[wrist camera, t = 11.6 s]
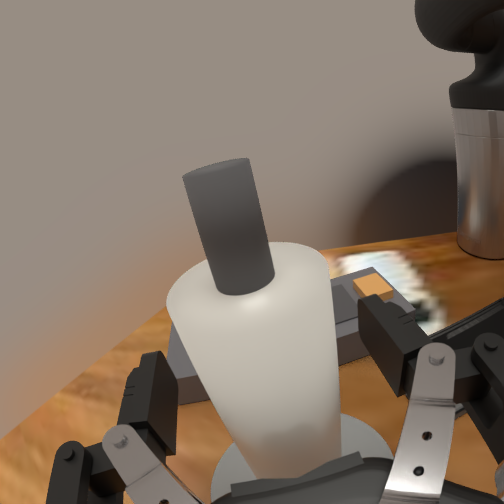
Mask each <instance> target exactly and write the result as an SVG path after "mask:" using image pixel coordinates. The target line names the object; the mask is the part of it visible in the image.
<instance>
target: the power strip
mask: <svg viewBox="0 0 504 504" xmlns="http://www.w3.org/2000/svg"><path fill="white" fill-rule="evenodd" d="M330 282H331V291H332V300H333V310H334V320H335V331H336V343H337V356H338V366H339V365H342V364H345V363H348V362H351V361H354V360H357V359H359V358H362V357H365V356H368V355H370V353H369V352H368V350H367V349H366V347H365V346H364V344H363V342H362V340H361V338H360V335H359V330H358V308H357V301H358V299H360V298H363V297H366V296H369V295H372V294H377V295H378V296H379V297H380V298H381V299H382V300H383V302H384V303H387V302H389V301H391V302H393V303H395V304H397V305H399V306H401V307H402V308H403V309H404V310H405V311H406V312H407V314H408V315H409V316H410V317H411V318H412V319H413V321H415V311H416V309H415V308H414V307H413V306H412V305H411V304H410V303H409V302H408V301H407V300H406V299H405V298H404V297H403V296H402V295H401V294H400V293H399V292H398V291H397V290H396V289H395V288H394V287H393V286H392V285H391V284H390V283H389V282H388V281H387V280H386V279H385V278H384V277H383V276H382V275H381V274H379V273H378V272H377V271H376V270H375V269H374V268H373V267H370V268H367V269H363V270H360V271H357V272H354V273H350V274H347V275H344V276H340V277H337V278H334V279H330ZM167 362H168V364H169V366H170V368H171V370H172V371H173V373H174V375H175V377H176V379H177V383H178V389H179V392H178V405H182V404H188V403H194V402H199V401H205V400H210V397H209V395H208V394H207V392H206V390H205V388H204V386H203V384H202V382H201V380H200V378H199V376H198V374H197V372H196V370H195V368H194V366H193V364H192V362H191V360H190V358H189V356H188V354H187V352H186V349H185V347H184V345H183V343H182V341H181V339H180V337H179V334H178V332H177V330H176V328H175V326H174V323H173V321H172V326H171V333H170V340H169V347H168V354H167Z"/></svg>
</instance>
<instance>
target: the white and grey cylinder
mask: <svg viewBox="0 0 504 504" xmlns="http://www.w3.org/2000/svg"><path fill="white" fill-rule="evenodd" d="M182 178H183V181H184V185H185V188H186V191H187V195H188V198H189V202H190V205H191V208H192V212H193V215H194V218H195V222H196V225H197V228H198V232H199V235H200V238H201V241H202V245H203V248H204V251H205V254H206V257H207V259H206V260H204V261H202V262H200V263H199V264H197V265H195V266H194V267H192V268H191V269H189V270H188V271H187V272H185V273H184V274H183V275H182V276H181V277H180V278H179V279H178V280H177V281H176V282H175V284H174V285H173V286H172V288H171V290H170V291H169V294H168V297H167V303H166V305H167V310H168V312H169V314H170V317H171V319H172V321H173V323H174V326H175V328H176V330H177V332H178V334H179V337H180V339H181V341H182V343H183V345H184V347H185V349H186V352H187V354H188V356H189V358H190V360H191V362H192V364H193V366H194V368H195V370H196V372H197V374H198V376H199V378H200V380H201V382H202V384H203V386H204V388H205V390H206V392H207V394H208V395H209V397H210V399H211V401H212V403H213V405H214V407H215V409H216V410H217V412H218V414H219V416H220V418H221V420H222V421H223V423H224V425H225V427H226V428H227V430H228V432H229V434H230V435H231V437H232V439H233V441H234V442H235V444H236V446H237V447H238V449H239V451H240V452H241V454H242V456H243V457H244V459H245V461H246V462H247V464H248V466H249V467H250V469H251V470H252V472H253V474H254V475H255V477H256V478H257V479H262V478H263V479H278V478H297V477H300V476H302V475H304V474H306V473H308V472H310V471H312V470H314V469H315V468H317V467H319V466H321V465H323V464H324V463H326V462H328V461H331V460H334V459H337V458H340V457H342V453H341V410H340V388H339V371H338V356H337V343H336V331H335V320H334V310H333V300H332V291H331V282H330V274H329V266H328V263H327V261H326V259H325V258H324V256H323V255H321V254H320V253H319V252H318V251H316V250H315V249H312V248H310V247H308V246H304V245H301V244H296V243H289V242H268V239H267V234H266V230H265V226H264V221H263V217H262V212H261V208H260V204H259V199H258V195H257V191H256V187H255V182H254V178H253V174H252V169H251V166H250V161H249V159H248V158H241V159H233V160H228V161H223V162H219V163H215V164H212V165H208V166H205V167H202V168H199V169H196V170H194V171H191V172H189V173H187V174H185V175H183V177H182Z"/></svg>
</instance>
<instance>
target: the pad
mask: <svg viewBox="0 0 504 504" xmlns="http://www.w3.org/2000/svg"><path fill="white" fill-rule="evenodd" d="M357 451H359V452H360V455H361V457H362V458H365V457H383V458H389V459H394V457H393V455H392V452H391V450H390V448H389V446H388V445H387V443H386V442H385V440H384V439H383V438H382V437H381V436H380V434H379V433H377V432H376V431H375V430H374V429H373V428H372V427H370V426H369V425H367V424H366V423H364V422H362V421H360V420H358V419H356V418H354V417H352V416H349V415H346V414H342V413H341V453H342V457H343V456H346V455H349V454H352V453H354V452H357ZM252 480H257V478H256V477H255V475H254V474H253V472H252V470H251V469H250V467H249V466H248V464H247V462H246V461H245V459H244V457H243V456H242V454H241V452H240V451H239V449H238V447H237V446H236V444H235V442H233V443H232V444H231V445H230V447H229V448H228V449H227V450H226V452H225V453H224V454H223V456H222V457H221V459H220V461H219V463H218V465H217V467H216V469H215V472H214V475H213V478H212V484H211V501H212V502H213V501H215V500H216V499H218V498H219V497H221V496H223V495H225V494H227V493H229V492H231V485H230V484H234V483H240V482H246V481H252Z"/></svg>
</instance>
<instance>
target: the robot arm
mask: <svg viewBox="0 0 504 504" xmlns="http://www.w3.org/2000/svg"><path fill="white" fill-rule="evenodd" d="M415 17H416V22H417V25H418V27H419V29H420V31H421V33H422V34H423V36H424V37H425V38H426V39H427V40H428V41H429V42H430V43H431V44H433V45H434V46H436V47H438V48H441V49H444V50H448V51H453V52H464V53H474V56H475V70H474V71H473V73H472V74H471V75H469V76H468V77H467V78H465V79H463V80H460V81H457V82H455V83H453V84H452V85H451V86H450V88H449V96H450V103H451V107H452V108H451V109H452V116H453V125H454V132H455V143H456V155H457V174H458V231H457V242H458V244H459V246H460V247H461V248H462V249H464V250H465V251H467V252H468V253H470V254H473V255H475V256H479V257H483V258H489V259H501V258H504V0H415ZM357 308H358V330H359V335H360V338H361V340H362V342H363V344H364V346H365V347H366V349H367V350H368V352H369V353H370V355H371V356H372V358H373V360H374V361H375V363H376V364H377V366H378V367H379V369H380V371H381V372H382V374H383V375H384V377H385V378H386V380H387V382H388V383H389V385H390V386H391V388H392V390H393V391H394V393H395V394H396V396H397V398H398V397H400V396H402V395H404V394H407V395H408V397H409V403H408V407H407V412H406V416H405V420H404V424H403V428H402V432H401V435H400V439H399V443H398V446H397V449H396V453H395V456H394V459H389V458H383V457H365V458H362V457H361V455H360V452H359V451H357V452H354V453H352V454H349V455H346V456H343V457H340V458H337V459H334V460H331V461H328V462H326V463H324V464H323V465H321V466H319V467H317V468H315V469H314V470H312V471H310V472H308V473H306V474H304V475H302V476H300V477H297V478H278V479H263V478H262V479H257V480H252V481H246V482H240V483H234V484H230V485H231V492H229V493H227V494H225V495H223V496H221V497H219V498H218V499H216V500H215V501H213V502H212V503H211V504H504V339H503V338H502V337H501V336H499V335H497V334H495V333H483V334H481V335H479V336H478V337H477V338H476V339H475V341H474V344H473V346H472V347H468V348H463V349H458V350H453V349H452V348H451V347H449V346H448V345H446V344H443V343H434V342H433V341H432V340H431V339H430V338H429V337H428V336H427V334H426V333H425V332H424V331H423V330H422V329H421V328H420V327H419V326H418V324H417V323H416V322H415V321H413V319H412V318H411V317H410V316H409V315H408V314H407V312H406V311H405V310H404V309H403V308H402V307H401V306H399V305H397V304H395V303H393V302H391V301H389V302H387V303H384V302H383V300H382V299H381V298H380V297H379V296H378V295H377V294H372V295H369V296H366V297H363V298H360V299H358V301H357ZM125 388H126V389H125V390H124V394H123V396H124V397H123V399H122V403H121V408H120V412H119V417H118V422H117V426H114V427H112V428H111V429H110V430H108V431H107V432H106V434H105V435H104V437H103V440H102V442H100V443H97V444H95V445H91V446H88V447H83V446H82V445H81V444H80V443H79V442H77V441H68V442H66V443H64V444H62V445H61V446H60V447H59V449H58V450H57V452H56V455H55V459H54V463H53V468H52V473H51V478H50V483H49V488H48V493H47V499H46V504H123V492H124V491H125V490H126V492H127V494H128V495H129V497H130V498H131V499H132V501H133V502H134V504H205V503H203V502H202V501H201V500H200V499H199V498H198V497H197V496H196V495H195V494H194V493H193V492H192V491H191V490H190V489H189V488H188V487H187V486H186V485H185V484H184V483H183V482H182V481H181V480H180V479H179V478H178V477H177V476H176V475H175V473H174V472H173V471H172V470H171V469H170V468H169V467H168V466H167V465H166V456H171V455H176V430H177V409H178V392H179V389H178V383H177V379H176V377H175V375H174V373H173V371H172V370H171V368H170V366H169V364H168V362H167V360H166V358H165V356H164V355H163V353H162V352H161V351H156V352H151V353H146V354H143V355H142V357H141V361H140V365H139V367H137V368H134V369H133V370H132V372H131V373H130V375H129V376H128V378H127V382H126V386H125ZM459 403H461V404H462V405H463V407H464V408H465V410H466V411H467V413H468V414H469V416H470V418H471V419H472V421H473V422H474V424H475V426H476V427H477V429H478V430H479V432H480V434H481V435H482V437H483V439H484V440H485V442H486V444H487V445H488V447H489V449H490V451H491V452H492V454H493V456H494V458H495V459H496V461H497V463H498V467H497V469H496V472H495V482H496V487H497V496H494V495H492V494H488V493H485V492H481V491H478V490H475V489H471V488H468V487H465V486H462V485H459V484H456V483H453V482H450V481H447V480H445V479H444V477H445V472H446V468H447V463H448V458H449V452H450V446H451V440H452V433H453V426H454V418H455V409H456V404H459ZM87 498H88V499H87Z"/></svg>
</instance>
